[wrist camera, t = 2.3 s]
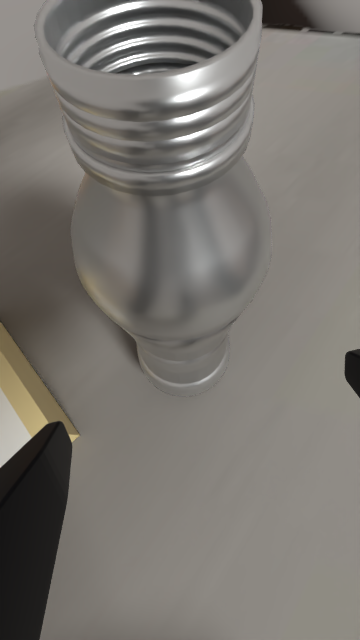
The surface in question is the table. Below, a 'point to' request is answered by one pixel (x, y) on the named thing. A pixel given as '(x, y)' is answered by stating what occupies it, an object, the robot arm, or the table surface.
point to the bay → (23, 401)
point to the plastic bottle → (163, 171)
